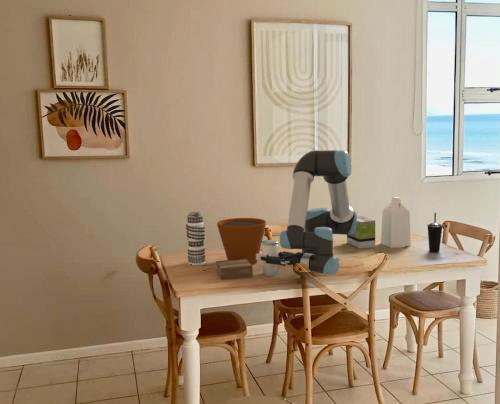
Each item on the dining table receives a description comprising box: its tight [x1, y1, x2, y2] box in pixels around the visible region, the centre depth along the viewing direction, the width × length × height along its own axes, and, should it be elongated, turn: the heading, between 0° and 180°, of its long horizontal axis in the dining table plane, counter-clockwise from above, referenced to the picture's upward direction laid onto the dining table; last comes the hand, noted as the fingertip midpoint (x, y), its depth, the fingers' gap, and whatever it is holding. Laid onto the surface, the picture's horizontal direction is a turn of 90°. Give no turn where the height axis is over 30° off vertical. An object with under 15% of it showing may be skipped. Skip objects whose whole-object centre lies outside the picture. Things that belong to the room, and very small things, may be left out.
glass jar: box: [261, 239, 280, 277], centre depth 251 cm, size 7×7×15 cm
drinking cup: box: [426, 212, 444, 254], centre depth 285 cm, size 8×8×20 cm
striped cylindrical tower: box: [185, 211, 206, 266], centre depth 274 cm, size 9×9×25 cm
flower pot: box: [216, 217, 267, 266], centre depth 274 cm, size 24×24×20 cm
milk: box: [380, 196, 412, 249], centre depth 302 cm, size 12×12×26 cm
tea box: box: [346, 215, 376, 249], centre depth 304 cm, size 15×10×15 cm
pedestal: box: [215, 259, 253, 280], centre depth 253 cm, size 14×14×5 cm
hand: (261, 255), depth 254 cm, fingers closed on glass jar, 7 cm apart
